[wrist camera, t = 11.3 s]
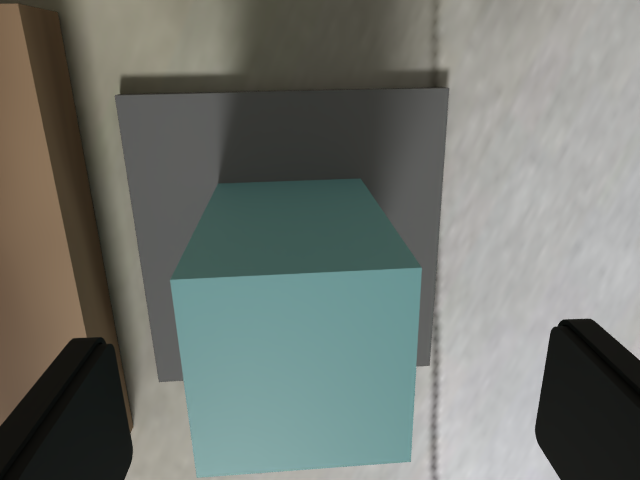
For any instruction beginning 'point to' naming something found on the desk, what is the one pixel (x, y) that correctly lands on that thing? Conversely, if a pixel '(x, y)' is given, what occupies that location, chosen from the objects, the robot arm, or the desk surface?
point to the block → (297, 329)
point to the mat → (278, 172)
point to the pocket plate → (44, 211)
